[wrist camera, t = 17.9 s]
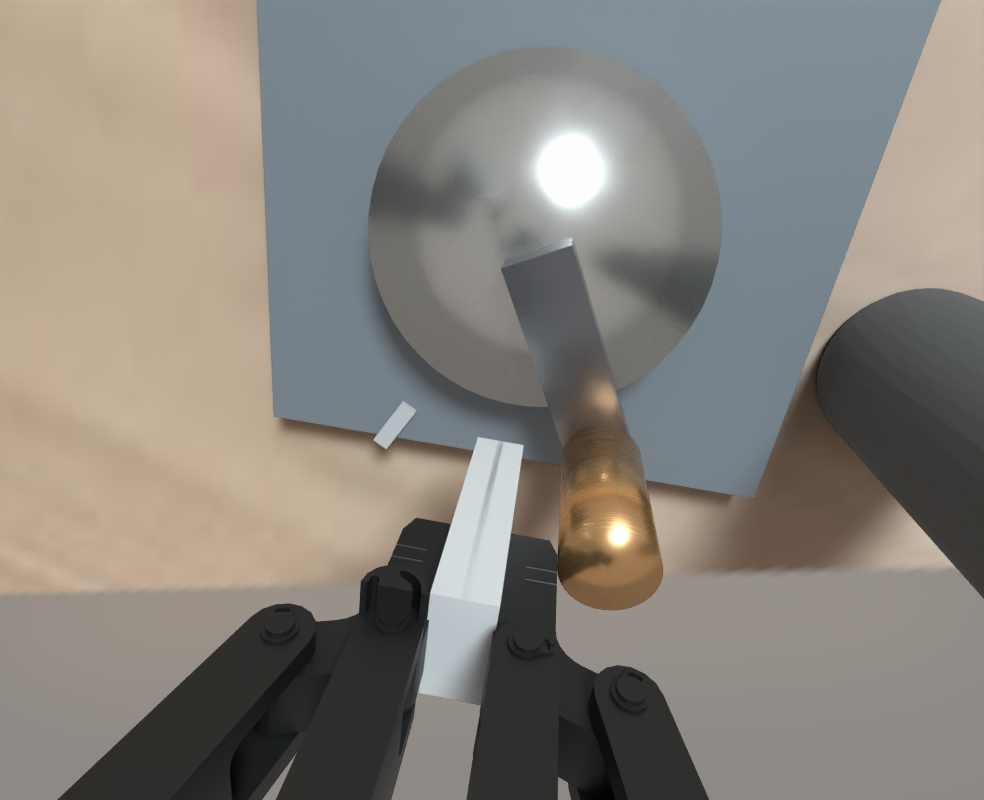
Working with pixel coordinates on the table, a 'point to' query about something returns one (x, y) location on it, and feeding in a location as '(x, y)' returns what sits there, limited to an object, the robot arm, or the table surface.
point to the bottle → (917, 411)
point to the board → (726, 137)
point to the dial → (554, 269)
